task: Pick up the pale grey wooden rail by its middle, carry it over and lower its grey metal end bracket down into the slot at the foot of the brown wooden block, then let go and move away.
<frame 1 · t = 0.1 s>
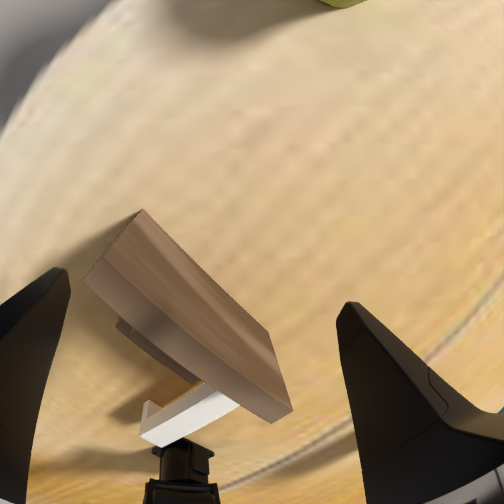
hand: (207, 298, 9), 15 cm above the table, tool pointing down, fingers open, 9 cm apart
bed rail: (194, 383, 30), on the table
brown wooden block: (162, 317, 26), on the table
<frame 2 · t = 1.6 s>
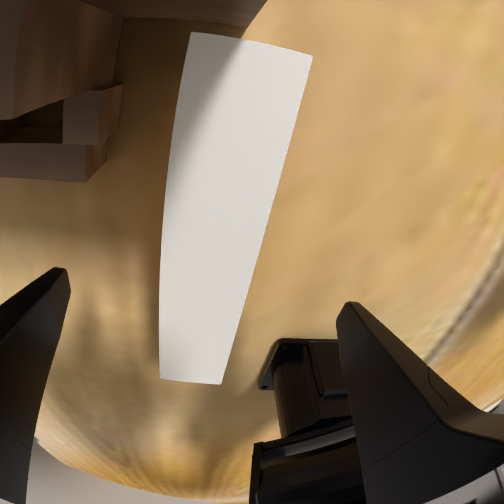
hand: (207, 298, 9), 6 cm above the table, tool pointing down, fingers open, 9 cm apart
bed rail: (209, 203, 14), on the table
brown wooden block: (51, 106, 10), on the table
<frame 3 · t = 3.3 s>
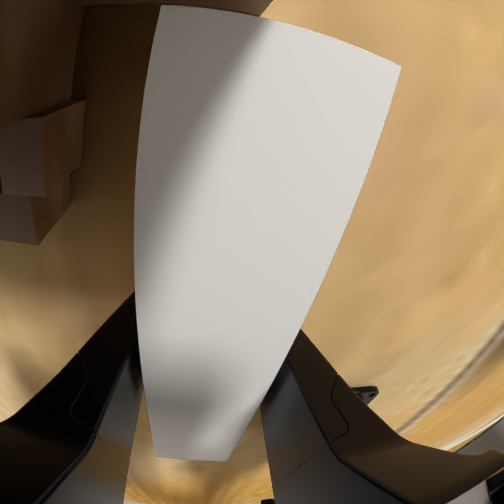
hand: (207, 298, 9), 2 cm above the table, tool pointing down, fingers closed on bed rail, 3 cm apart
bed rail: (208, 258, 11), on the table, touching gripper
brown wooden block: (0, 132, 7), on the table
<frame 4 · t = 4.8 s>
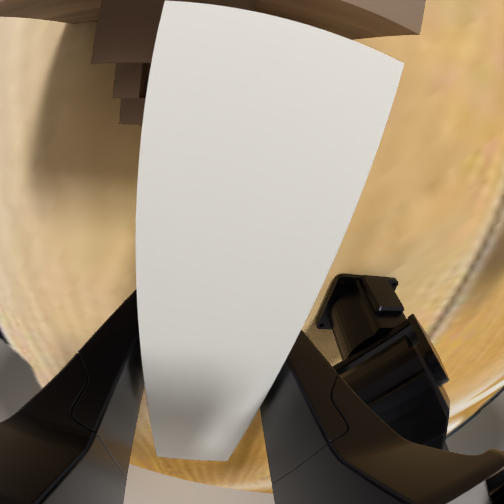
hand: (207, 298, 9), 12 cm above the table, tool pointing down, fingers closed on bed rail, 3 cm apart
bed rail: (210, 256, 11), point 10 cm above the table, touching gripper
brown wooden block: (183, 80, 16), on the table
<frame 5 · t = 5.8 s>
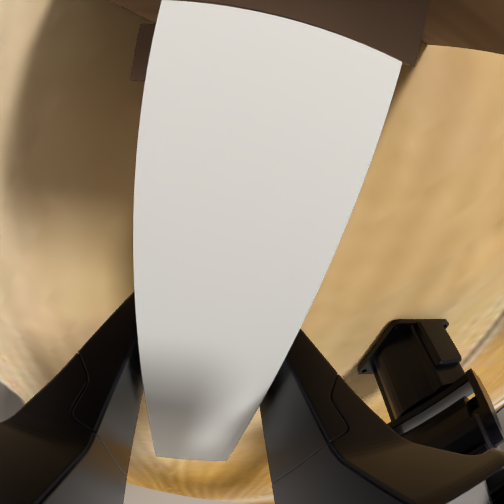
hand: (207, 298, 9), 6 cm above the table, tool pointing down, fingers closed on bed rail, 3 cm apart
bed rail: (209, 256, 11), point 4 cm above the table, touching gripper
brown wooden block: (238, 64, 10), on the table
when the fingers open (3 cm above the table, at t = 6.6 s): bed rail drops 1 cm, on the table.
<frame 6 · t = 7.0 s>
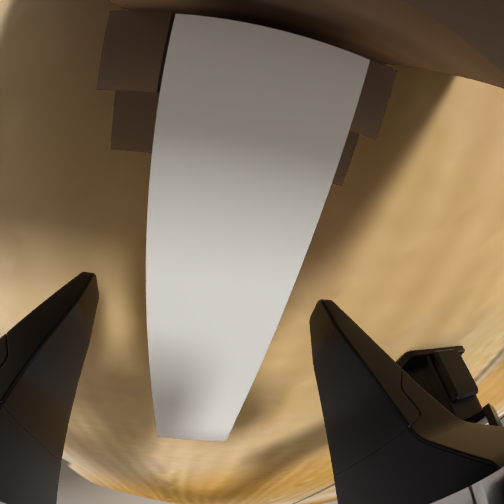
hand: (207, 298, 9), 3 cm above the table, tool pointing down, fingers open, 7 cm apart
bed rail: (209, 241, 11), on the table
brown wooden block: (244, 64, 8), on the table
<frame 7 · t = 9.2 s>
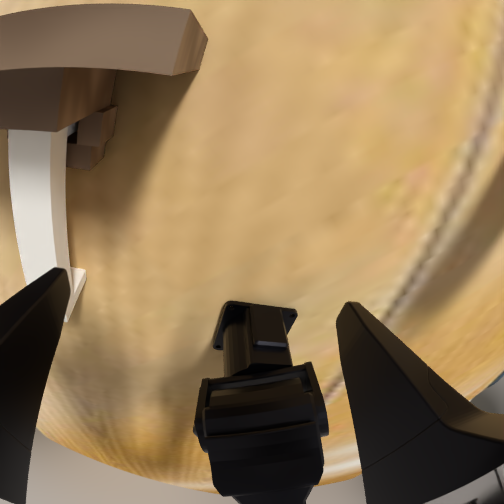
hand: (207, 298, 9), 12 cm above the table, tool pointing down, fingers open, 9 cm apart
bed rail: (65, 202, 19), on the table
brown wooden block: (68, 116, 15), on the table
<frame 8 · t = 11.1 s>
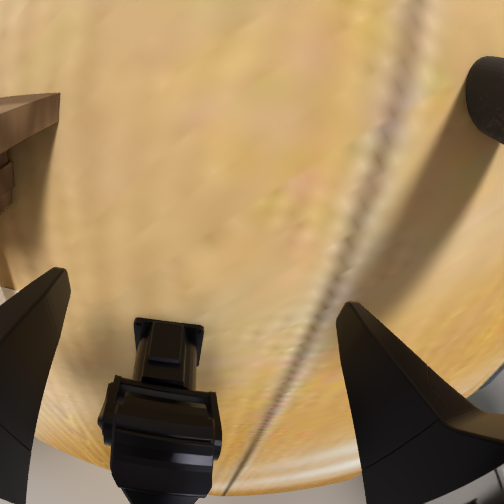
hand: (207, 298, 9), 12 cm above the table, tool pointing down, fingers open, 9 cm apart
travel mug: (490, 95, 16), on the table
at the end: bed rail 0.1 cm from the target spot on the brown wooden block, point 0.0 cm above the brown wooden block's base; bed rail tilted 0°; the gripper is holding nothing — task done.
